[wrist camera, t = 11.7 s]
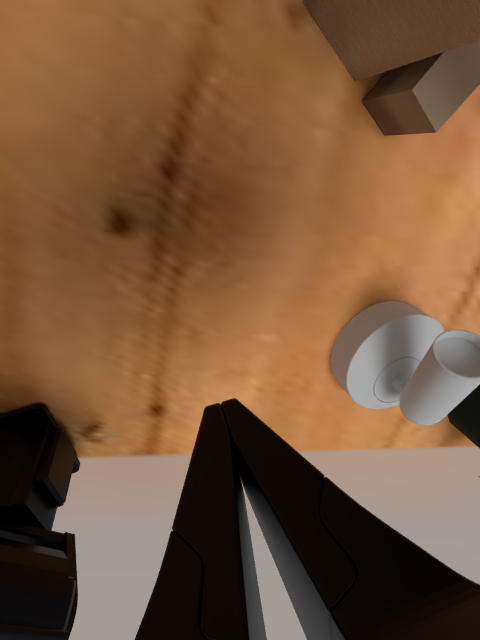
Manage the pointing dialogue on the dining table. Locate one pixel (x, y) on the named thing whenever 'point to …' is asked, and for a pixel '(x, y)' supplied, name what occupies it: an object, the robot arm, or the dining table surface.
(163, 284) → the dining table surface
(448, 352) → the wall hook
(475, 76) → the bench
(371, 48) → the grey square pillar
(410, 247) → the dining table surface
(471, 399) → the wine bottle
